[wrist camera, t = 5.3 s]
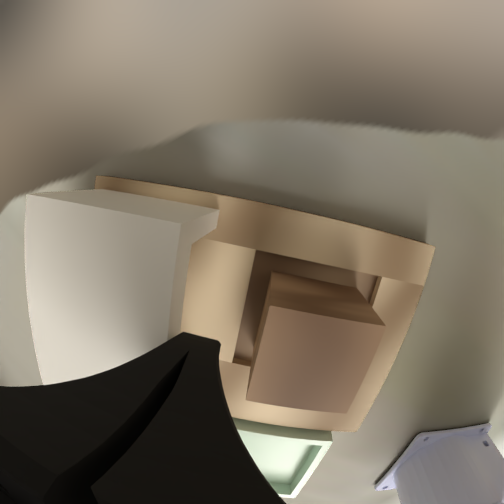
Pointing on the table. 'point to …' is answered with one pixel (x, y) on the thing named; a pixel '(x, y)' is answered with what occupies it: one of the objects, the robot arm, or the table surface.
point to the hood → (105, 276)
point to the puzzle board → (296, 263)
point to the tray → (284, 453)
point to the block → (312, 345)
